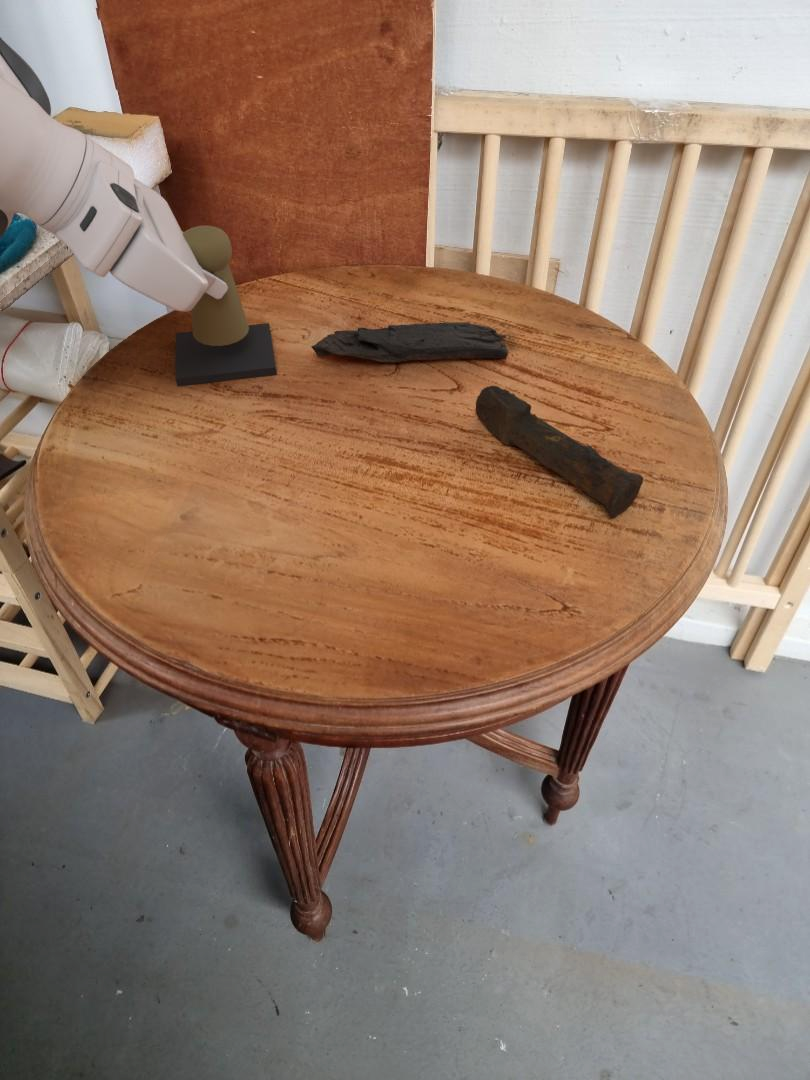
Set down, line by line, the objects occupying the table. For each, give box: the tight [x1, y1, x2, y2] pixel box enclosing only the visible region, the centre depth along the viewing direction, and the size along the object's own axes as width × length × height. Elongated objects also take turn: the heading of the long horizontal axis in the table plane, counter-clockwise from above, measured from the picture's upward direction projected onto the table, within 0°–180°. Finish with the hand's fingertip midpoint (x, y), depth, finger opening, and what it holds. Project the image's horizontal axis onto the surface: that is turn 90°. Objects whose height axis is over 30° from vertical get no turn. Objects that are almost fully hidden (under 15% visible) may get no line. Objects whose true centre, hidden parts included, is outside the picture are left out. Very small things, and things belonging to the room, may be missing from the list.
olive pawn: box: [183, 225, 249, 346], centre depth 80 cm, size 6×6×11 cm
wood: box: [310, 321, 509, 363], centre depth 87 cm, size 22×7×3 cm, turn 95°
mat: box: [174, 322, 278, 387], centre depth 86 cm, size 11×9×1 cm
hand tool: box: [475, 385, 644, 519], centre depth 73 cm, size 19×4×5 cm, turn 39°
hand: (216, 278), depth 80 cm, fingers closed on olive pawn, 4 cm apart
